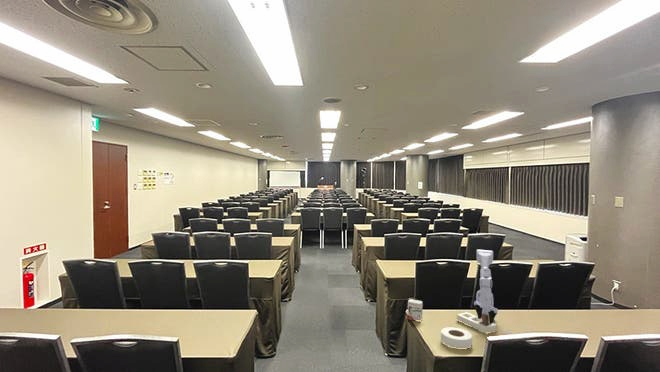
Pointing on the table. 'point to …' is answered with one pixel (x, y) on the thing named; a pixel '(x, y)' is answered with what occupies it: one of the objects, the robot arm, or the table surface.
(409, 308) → the ink box
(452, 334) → the roll of tape
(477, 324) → the well block
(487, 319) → the walnut peg
